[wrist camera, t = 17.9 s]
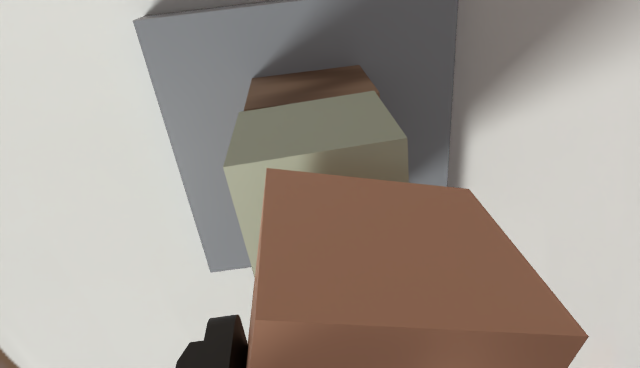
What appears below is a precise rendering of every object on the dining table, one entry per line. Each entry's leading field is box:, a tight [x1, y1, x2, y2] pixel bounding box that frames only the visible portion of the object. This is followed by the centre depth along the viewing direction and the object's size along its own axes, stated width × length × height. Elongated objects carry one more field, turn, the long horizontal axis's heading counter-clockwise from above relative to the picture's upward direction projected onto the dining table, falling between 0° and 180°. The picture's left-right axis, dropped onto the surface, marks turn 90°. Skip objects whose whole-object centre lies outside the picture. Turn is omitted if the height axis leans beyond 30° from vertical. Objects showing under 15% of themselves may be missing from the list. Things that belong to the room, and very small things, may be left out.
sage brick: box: [223, 91, 409, 277], centre depth 15 cm, size 5×8×4 cm, turn 8°
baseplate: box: [133, 0, 458, 272], centre depth 21 cm, size 14×14×2 cm
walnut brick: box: [244, 65, 380, 111], centre depth 19 cm, size 5×8×4 cm, turn 6°
